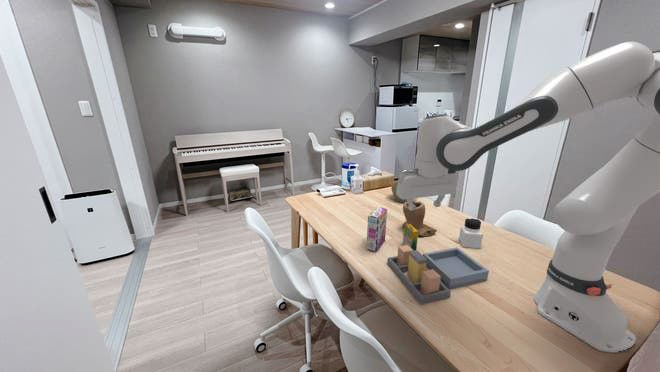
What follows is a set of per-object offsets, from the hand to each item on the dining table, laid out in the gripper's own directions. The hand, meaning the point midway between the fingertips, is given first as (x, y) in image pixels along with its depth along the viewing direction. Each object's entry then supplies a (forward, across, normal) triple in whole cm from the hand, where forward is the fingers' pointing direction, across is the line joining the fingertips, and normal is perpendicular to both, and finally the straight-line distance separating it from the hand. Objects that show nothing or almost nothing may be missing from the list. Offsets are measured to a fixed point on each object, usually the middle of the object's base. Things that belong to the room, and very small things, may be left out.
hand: (424, 208), depth 88 cm
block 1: (+28, 0, +8) cm, 29 cm away
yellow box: (+28, 0, 0) cm, 28 cm away
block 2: (+28, 0, -8) cm, 29 cm away
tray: (+28, +16, 0) cm, 32 cm away
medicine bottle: (+28, +36, +14) cm, 47 cm away
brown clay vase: (+29, +20, +30) cm, 46 cm away
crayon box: (+28, +8, +18) cm, 35 cm away
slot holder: (+28, 0, 0) cm, 28 cm away
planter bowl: (+29, +34, +68) cm, 82 cm away
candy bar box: (+29, -4, +24) cm, 38 cm away
